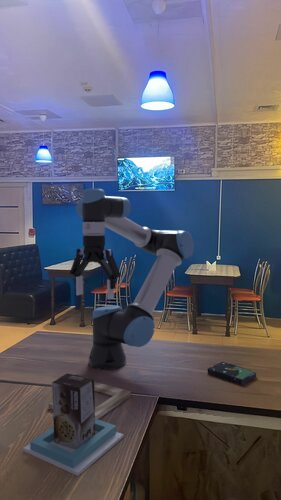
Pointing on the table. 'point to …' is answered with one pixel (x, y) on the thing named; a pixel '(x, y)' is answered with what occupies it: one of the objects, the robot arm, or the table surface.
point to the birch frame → (111, 403)
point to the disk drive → (232, 373)
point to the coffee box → (73, 410)
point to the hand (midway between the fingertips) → (94, 296)
